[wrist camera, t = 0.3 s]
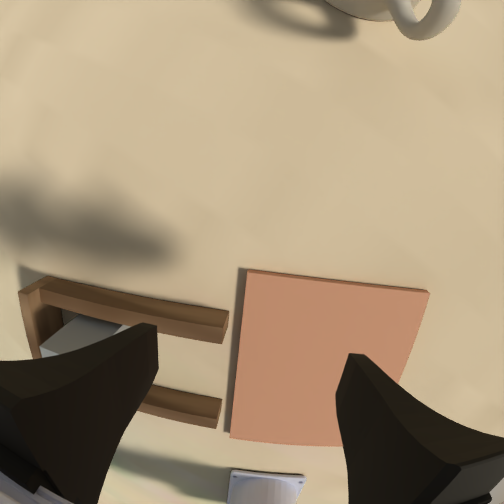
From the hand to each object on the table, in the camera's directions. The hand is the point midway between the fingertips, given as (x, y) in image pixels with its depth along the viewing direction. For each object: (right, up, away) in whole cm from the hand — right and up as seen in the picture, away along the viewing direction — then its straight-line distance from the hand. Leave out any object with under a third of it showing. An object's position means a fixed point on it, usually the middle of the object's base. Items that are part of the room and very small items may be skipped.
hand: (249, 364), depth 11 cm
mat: (+5, -5, +11) cm, 14 cm away
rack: (-9, -4, +12) cm, 16 cm away
